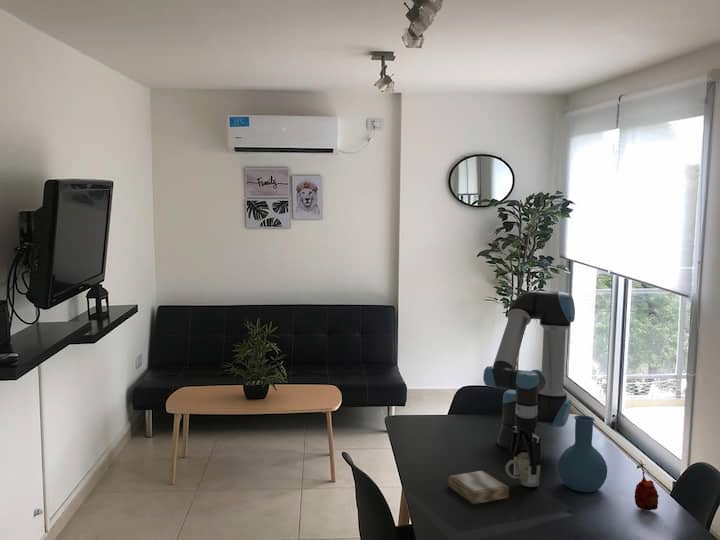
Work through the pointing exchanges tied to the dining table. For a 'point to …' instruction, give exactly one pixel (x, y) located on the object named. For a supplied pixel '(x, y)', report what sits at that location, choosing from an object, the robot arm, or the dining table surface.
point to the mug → (523, 469)
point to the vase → (582, 460)
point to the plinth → (478, 487)
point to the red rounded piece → (646, 494)
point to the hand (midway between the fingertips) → (524, 478)
